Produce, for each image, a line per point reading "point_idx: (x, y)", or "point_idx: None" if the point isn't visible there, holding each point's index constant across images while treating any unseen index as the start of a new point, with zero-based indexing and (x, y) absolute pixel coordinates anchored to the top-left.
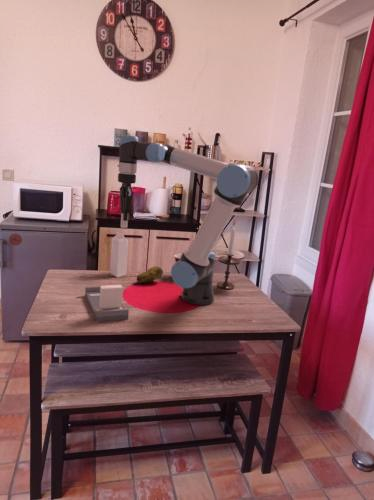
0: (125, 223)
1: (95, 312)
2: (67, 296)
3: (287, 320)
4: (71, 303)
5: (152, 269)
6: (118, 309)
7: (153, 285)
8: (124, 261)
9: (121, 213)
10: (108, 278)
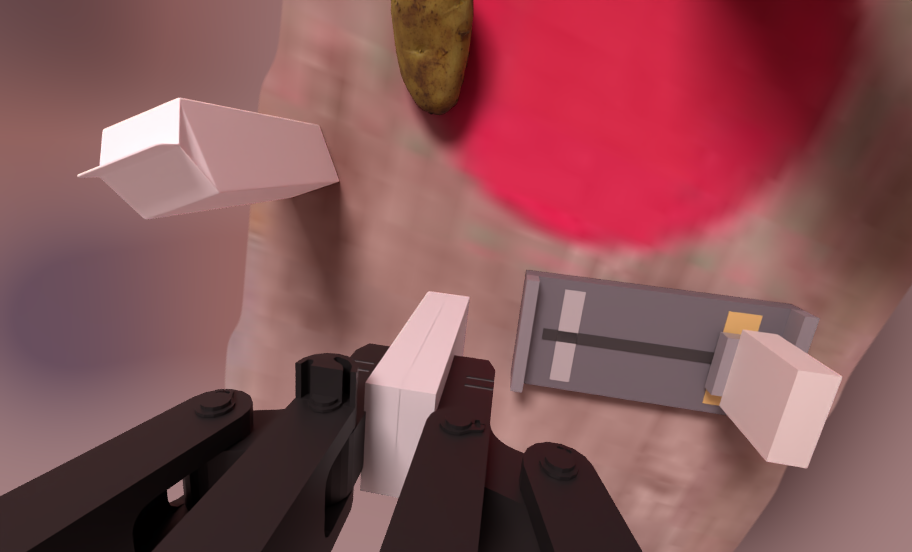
0: (458, 345)
1: (725, 413)
2: (501, 428)
3: None
4: (567, 434)
5: (441, 7)
6: None
7: (485, 35)
8: (287, 136)
9: (374, 478)
10: (349, 224)
